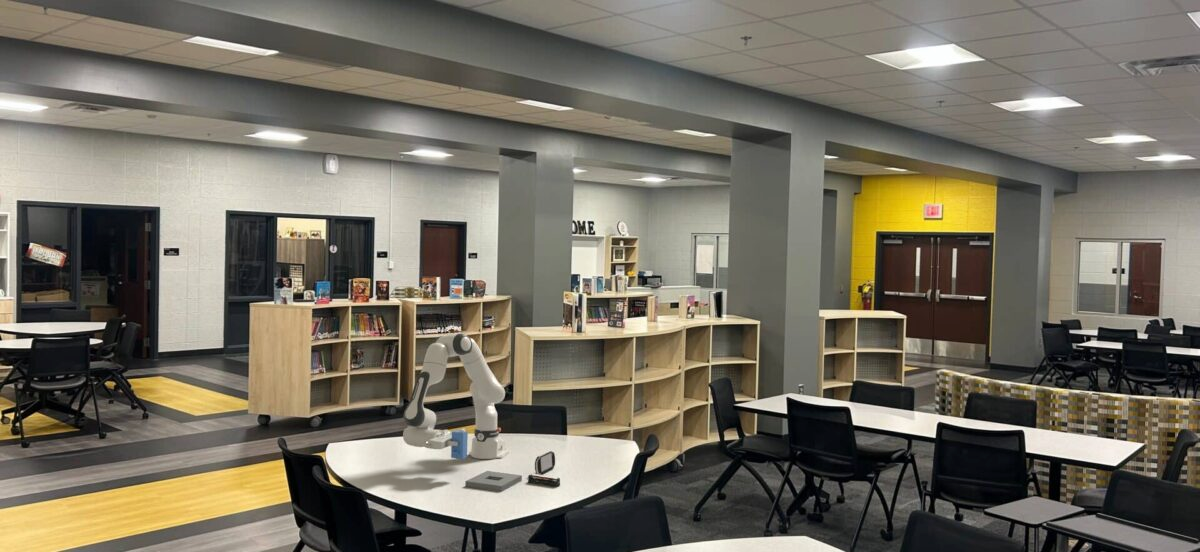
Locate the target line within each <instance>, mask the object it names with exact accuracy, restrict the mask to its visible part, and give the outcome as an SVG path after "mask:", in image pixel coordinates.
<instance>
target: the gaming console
mask: <svg viewBox="0 0 1200 552" xmlns="http://www.w3.org/2000/svg"><path fill="white" fill-rule="evenodd" d="M555 466H556V454H555V452H554V451H552V450H550V451H546V452H545V453H544V452H543V453H542V454H540V455H538V456H537V457H536V458H535V461H534V471H535V474H537V475H545V474H546V473H549V472H551V471H552V470H554V468H555Z"/></svg>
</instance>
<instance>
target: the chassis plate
mask: <svg viewBox="0 0 1200 552" xmlns="http://www.w3.org/2000/svg"><path fill="white" fill-rule="evenodd" d="M522 479H523V475H521V474H516V473H505V472H499V471H491V470H490V471H489V470H486V471H484V472H482V473H479V474H477V475H476V476H473V477H471V478H469V479H467V480H465V488H472V489H480V490H486V491H487V490H488V491H494V492H501V493H502V492H504V491H505V490H508V489H510V488H511V487H513V486H515V485H517V484H518V483H521V482H522Z"/></svg>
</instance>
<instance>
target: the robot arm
mask: <svg viewBox="0 0 1200 552" xmlns="http://www.w3.org/2000/svg"><path fill="white" fill-rule="evenodd" d="M457 356H458V357H459V359H460V361H461V363H462V367H463V368H464V371H465V372H466V375H467V377H468V378H469V379H470V380H471V381H472V382H471V383H470V386H469V392H470V394H471V397H472V400H473V407H474V410H475V428H474V431H473V433H474V434H473V435H474V437H473V438H472V440H471V450H470V451H468V452H469V453H468V454H469V455H470V456H471V458H474V459H478V460H480V459H481V460H493V459H494V460H495V459H502V458H504V457H505V456H506V455H507V454H509V453H510V450H509V449H506V447H505V446H506V443H505V440H504V439H503V438H502V437H501V436H500V433H501V431H502V429H501V427H498V412H497V410H496V407H495V404H500V403H502V402H503V401H504V400H505V396H506V390H505V388H504V387H503V386H502V384H501V383H500V382H499V381H498V379H497V378H496V376H495V374H494V373H493V372H492V370H491V369H490V367H489V365H488V363H487V362H486V361H487V360H486V358H485V357H484V355H483V352H482V351H481V349H480V347H479V345H478V344H477V342H476V341H475V340H474V339H473V338H472V337H470V336H468V335H467V334H465V333H449V334H446V335H442V336H438V337H436V338H435V339H434V340H433V342H432V343H431V344H430V345H429V346H428V348H427V350H426V353H425V356H424V360H423V365H422V368H421V370H420V371H421V372H420V373H419V374H418V376H417V378H416V380H415V383H414V387H413V389H412V393H411V396H410V398H409V399H410V400H409V401H408V404H407V406H406V407H405V409H404V412H403V421H404V422H405V424H406V425H407V427H406V428H404V430H403V433H402V438H403V441H404V442H405V444H406V445H408V446H411V447H416V448H426V449H430V450H443V449H445V448H448V447H451V446H458V445H459V442H458V441H452V431H453V430H452V431H450V430H448V429H447V428H446V429H444V428H443V429H435V427H436V424H437V420H438V419H437V415H436V413H435V411H433V410H431V409H429V408H426V407H424V402H425V398H426V395H427V393H428V392H427V391H428V388H429V387H431V386H432V385H435V384H438V383H441V381H443V380H444V378H445V376H446V371H447V365H448V359H449V358H452V357H453V358H454V357H457Z"/></svg>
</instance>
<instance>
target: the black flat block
mask: <svg viewBox="0 0 1200 552" xmlns="http://www.w3.org/2000/svg"><path fill="white" fill-rule="evenodd" d="M527 484H533V485H540V486H545V487H552V488H559V487H560V486H561V479H560V477H555V476H549V475H545V474H543V475H538V474H537V473H530V474H529V475H528V479H527Z"/></svg>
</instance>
